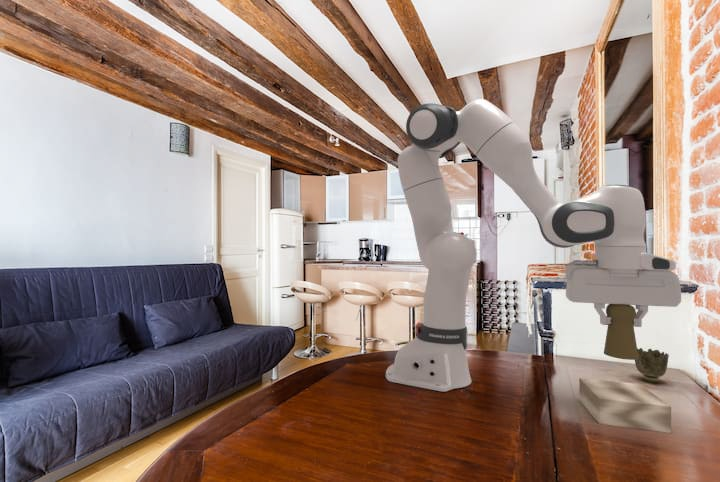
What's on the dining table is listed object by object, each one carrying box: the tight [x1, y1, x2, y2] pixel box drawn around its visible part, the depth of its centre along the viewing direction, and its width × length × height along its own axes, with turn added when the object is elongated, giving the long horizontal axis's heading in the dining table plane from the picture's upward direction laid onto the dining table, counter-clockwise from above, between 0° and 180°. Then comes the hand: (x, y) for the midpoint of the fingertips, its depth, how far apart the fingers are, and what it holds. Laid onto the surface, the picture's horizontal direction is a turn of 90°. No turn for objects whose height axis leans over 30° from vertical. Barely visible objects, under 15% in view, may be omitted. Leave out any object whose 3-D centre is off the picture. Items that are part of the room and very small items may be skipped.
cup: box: [634, 347, 670, 384], centre depth 95 cm, size 8×7×8 cm
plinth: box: [578, 377, 672, 434], centre depth 75 cm, size 12×12×5 cm
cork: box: [603, 304, 639, 361], centre depth 75 cm, size 6×6×11 cm
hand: (620, 325), depth 75 cm, fingers closed on cork, 4 cm apart
